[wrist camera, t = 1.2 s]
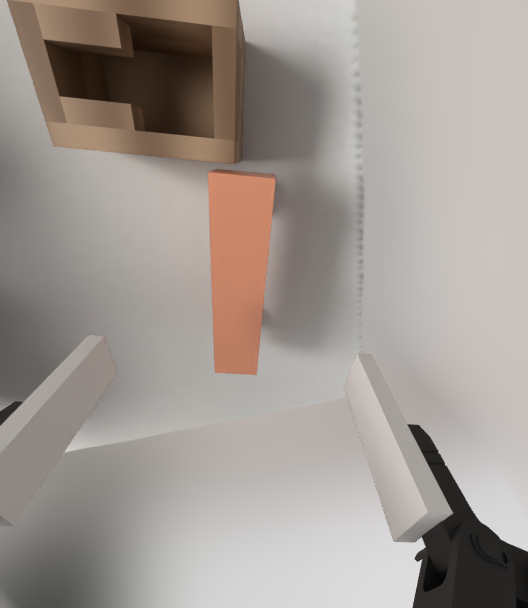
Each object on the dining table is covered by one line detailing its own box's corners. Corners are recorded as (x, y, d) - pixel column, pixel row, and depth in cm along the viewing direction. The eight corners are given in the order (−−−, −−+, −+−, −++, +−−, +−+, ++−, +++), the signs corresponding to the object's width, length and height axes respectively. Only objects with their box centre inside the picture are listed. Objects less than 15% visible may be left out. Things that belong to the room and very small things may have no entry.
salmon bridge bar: (257, 328, 29) (256, 374, 23) (224, 326, 29) (214, 372, 23) (271, 170, 20) (275, 178, 14) (224, 166, 20) (208, 172, 14)
